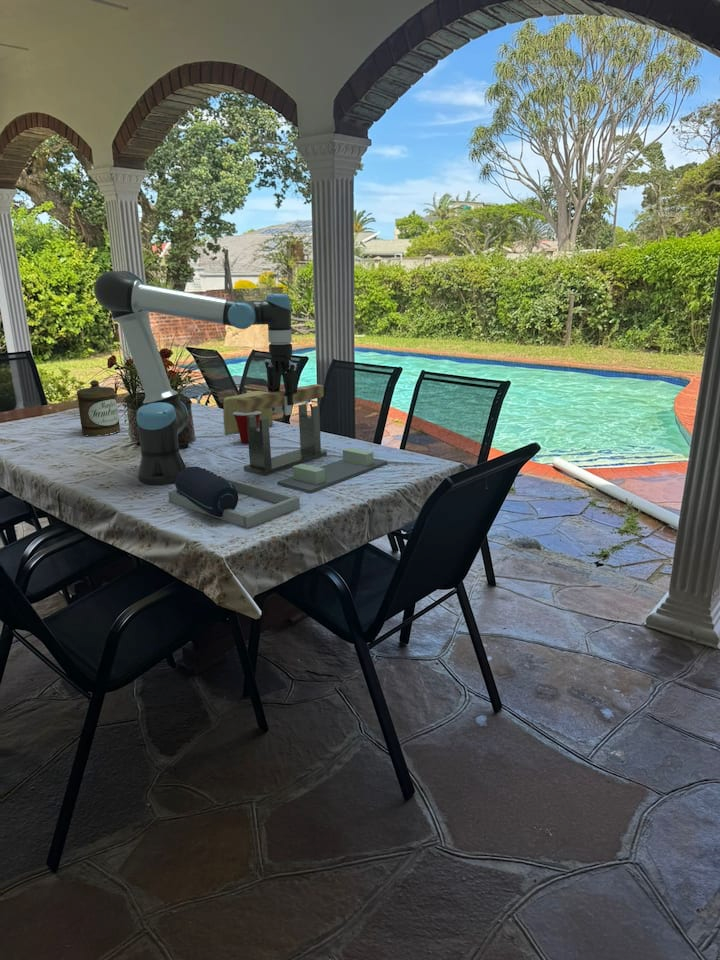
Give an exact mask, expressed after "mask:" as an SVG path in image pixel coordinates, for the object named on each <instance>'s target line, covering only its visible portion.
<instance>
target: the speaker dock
mask: <svg viewBox="0 0 720 960" xmlns="http://www.w3.org/2000/svg"><path fill="white" fill-rule="evenodd" d="M219 476H220V477H221V478H224V479H225V480H226V481H228V482H230V483H232V484H233V485H234V486H235V488H236V489H237V491H238V494H239V493H240V494H243V495H247V496H250V497H253V498H257V499H260V500H264V501H268V502H270V503H274V504H271V505H269V506H266V507H264V508H261V509H259V510H258V509H257V510H255V511H253V512H249V513H245V512H241V511H238V510H236V509H234V510H232V509H226V510H224V511H223V517H217V516H213V515H211V514H209V513H207V512H206V511H204V510H203V509H201V508H199V507H198V506H196V505H195V504H193V503H192V502H191V501H189V500H188V499H187V498H186V497H184V496H183V495H181V494H180V493H179V492H178V491H177V489H176V488H175V489H171V490H169V491H167V496H168V502H169V503H172V504H175V505H179V506H182V507H184V508H187V509H190V510H193V511H196V512H199V513H202V514H204V515H208V516H211V517H213V518H217V519H219V520H223V521H226V522H228V523H232V524H235V525H237V526H241V527H243V528H246V529H250V528H252V527H254V526H257V525H260V524H262V523H265V522H267V521H270V520H272V519H275V518H277V517H280V516H282V515H284V514H287V513H289V512H292V511H295V510H297V509H299V508H301V505H300V504H301V503H300V497H299V496H295V495H292V494H289V493H285V492H282V491H281V492H280V491H277V490H274V489H270V488H266V487H263V486H260V485H257V484H256V485H255V484H252V483H248V482H245V481H242V480H241V481H240V480H237V479H234V478H231V477H226V476H224V475H219Z"/></svg>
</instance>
